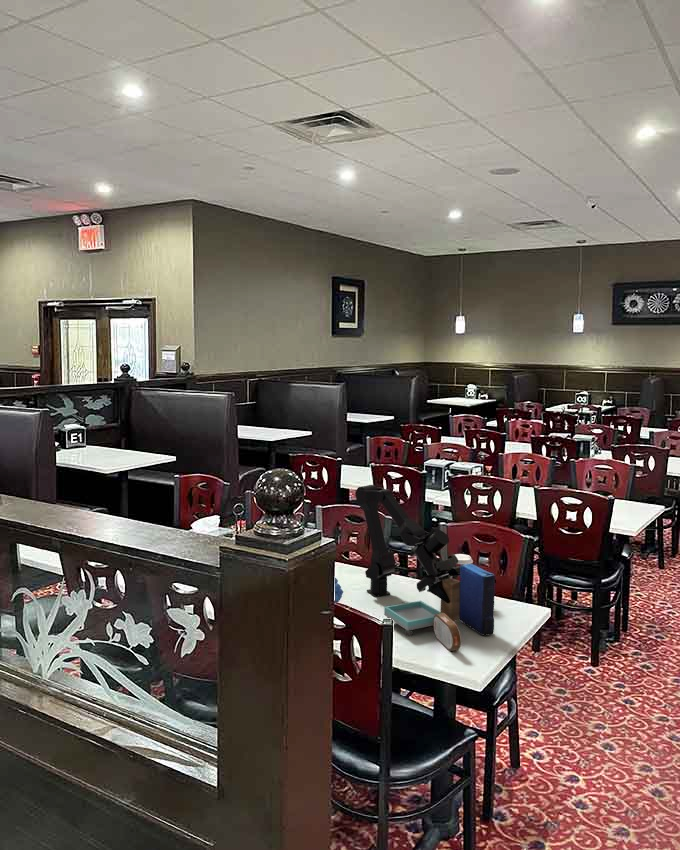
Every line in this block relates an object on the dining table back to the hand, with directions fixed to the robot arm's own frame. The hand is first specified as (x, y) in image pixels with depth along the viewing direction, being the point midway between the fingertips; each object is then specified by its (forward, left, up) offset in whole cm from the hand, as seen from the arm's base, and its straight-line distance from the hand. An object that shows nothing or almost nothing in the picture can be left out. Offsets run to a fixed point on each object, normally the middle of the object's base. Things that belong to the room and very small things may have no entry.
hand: (453, 601), depth 246 cm
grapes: (-24, -31, -7) cm, 40 cm away
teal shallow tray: (-1, -14, -7) cm, 16 cm away
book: (+9, +3, -7) cm, 11 cm away
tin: (+15, -13, -7) cm, 21 cm away
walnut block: (-1, 0, -7) cm, 7 cm away
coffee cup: (-16, +15, -7) cm, 23 cm away
